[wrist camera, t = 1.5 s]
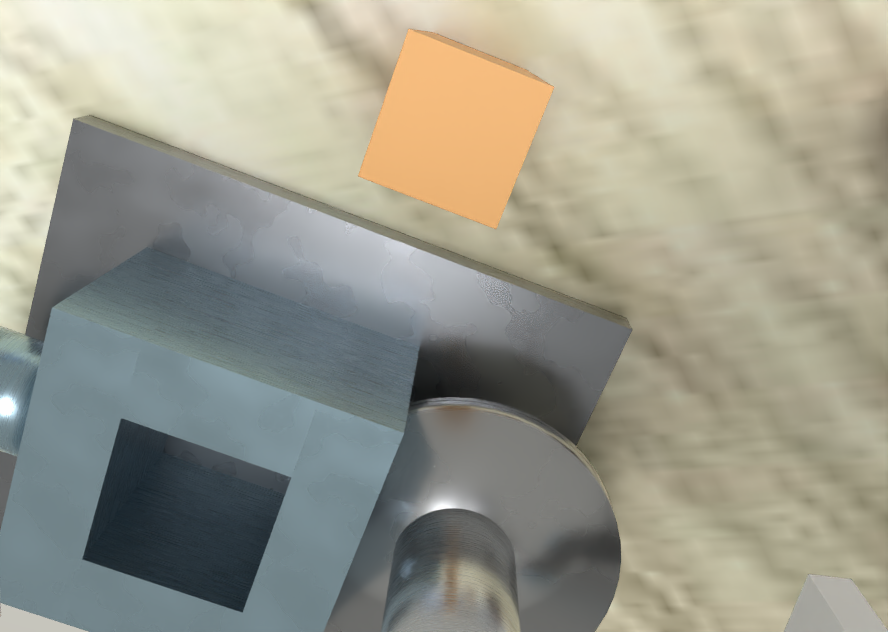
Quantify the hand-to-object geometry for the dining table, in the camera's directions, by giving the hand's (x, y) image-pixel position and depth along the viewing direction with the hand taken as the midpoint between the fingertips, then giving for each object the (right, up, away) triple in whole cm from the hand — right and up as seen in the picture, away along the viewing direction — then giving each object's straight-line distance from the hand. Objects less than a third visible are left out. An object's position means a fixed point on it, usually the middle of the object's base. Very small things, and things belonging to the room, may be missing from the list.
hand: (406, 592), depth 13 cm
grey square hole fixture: (-5, -1, +24) cm, 25 cm away
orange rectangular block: (+1, +13, +20) cm, 24 cm away
